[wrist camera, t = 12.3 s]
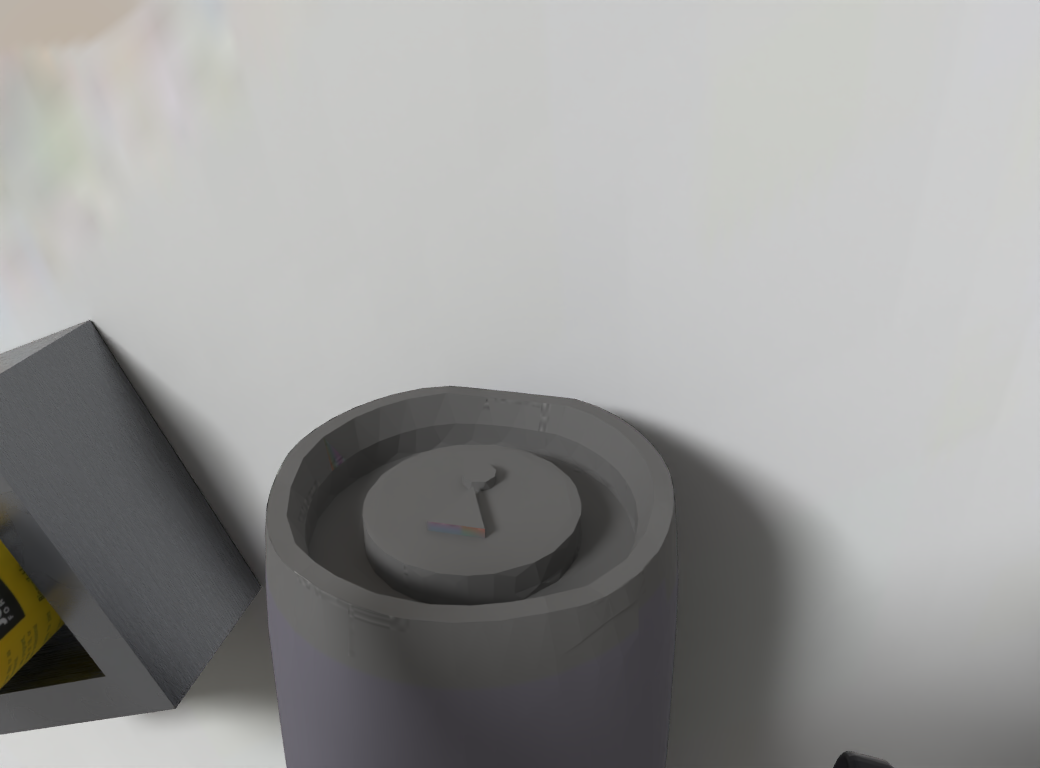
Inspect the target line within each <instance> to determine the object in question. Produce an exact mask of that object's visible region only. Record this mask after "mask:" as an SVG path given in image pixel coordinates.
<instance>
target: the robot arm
mask: <svg viewBox="0 0 1040 768" xmlns="http://www.w3.org/2000/svg"><path fill="white" fill-rule="evenodd" d="M833 768H894V767H893V766H891V765H890V764H889V763H888V762H887V761H885V760H882V759H879V758H875V757H871V756H867V755H863V754H859V753H855V752H852V751H846V752H844V753H842V754H841V755H840V756H839V758H838V759H837V761H836V763H835V765H834V767H833Z"/></svg>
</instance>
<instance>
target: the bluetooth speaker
mask: <svg viewBox="0 0 1040 768" xmlns="http://www.w3.org/2000/svg"><path fill="white" fill-rule="evenodd" d="M265 540H266V566H265V576H266V595H267V613H268V629H269V637H270V644H271V652H272V660H273V668H274V676H275V684H276V692H277V700H278V708H279V715H280V723H281V731H282V738H283V745H284V752H285V759H286V766H287V768H665V766H666V756H667V746H668V734H669V720H670V706H671V692H672V678H673V664H674V650H675V636H676V618H677V596H678V561H677V526H676V510H675V497H674V490H673V483H672V479H671V475H670V472H669V469H668V467H667V465H666V464H665V462H664V460H663V458H662V456H661V455H660V454H659V452H658V451H657V450H656V449H655V447H654V446H653V445H652V444H651V443H650V442H649V441H648V440H647V439H646V438H645V437H644V436H643V435H642V434H641V433H640V432H639V431H637V430H636V429H635V428H634V427H632V426H631V425H630V424H628V423H627V422H625V421H623V420H622V419H620V418H619V417H617V416H616V415H614V414H612V413H610V412H608V411H606V410H604V409H602V408H600V407H597V406H595V405H592V404H589V403H586V402H583V401H580V400H577V399H571V398H563V397H554V396H544V395H534V394H526V393H517V392H507V391H497V390H487V389H478V388H469V387H457V386H444V387H432V388H421V389H416V390H412V391H407V392H403V393H398V394H393V395H390V396H387V397H383V398H380V399H377V400H374V401H371V402H368V403H366V404H363V405H360V406H358V407H355V408H353V409H351V410H349V411H347V412H345V413H342V414H341V415H338V416H336V417H334V418H332V419H331V420H329V421H328V422H326V423H324V424H323V425H321V426H320V427H318V428H316V429H315V430H313V431H312V432H311V433H309V434H308V435H307V436H306V437H304V438H303V439H302V440H301V441H300V442H299V443H298V444H297V445H296V446H295V447H294V448H293V449H292V450H291V451H290V452H289V453H288V455H287V457H286V458H285V460H284V462H283V463H282V465H281V467H280V469H279V470H278V472H277V475H276V478H275V480H274V483H273V485H272V488H271V491H270V495H269V499H268V503H267V510H266V526H265Z"/></svg>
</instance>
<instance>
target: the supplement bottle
mask: <svg viewBox="0 0 1040 768" xmlns="http://www.w3.org/2000/svg"><path fill="white" fill-rule="evenodd" d="M64 624H65V623H64V622H63V620H62V619H61V618H60V616H59V615H58V614H57V612H56V611H55V610H54V609H53V607H52V606H51V605H50V603H49V602H48V601H47V600H46V598H45V597H44V596H43V594H42V593H41V592H40V590H39V589H38V588H37V587H36V585H35V584H34V583H33V581H32V580H31V579H30V578H29V576H28V575H27V574H26V572H25V571H24V570H23V568H22V567H21V566H20V565H19V563H18V562H17V561H16V559H15V558H14V557H13V556H12V554H11V553H10V552H9V550H8V549H7V548H6V546H5V545H4V544H3V543H2V541H1V540H0V689H1V688H2V687H3V686H4V685H5V684H6V683H7V682H8V681H9V680H10V679H11V678H12V677H13V676H14V675H15V673H16V672H17V671H18V670H19V669H20V668H21V667H22V666H23V665H24V664H26V663H27V662H28V661H29V660H30V659H31V657H32V656H33V655H34V654H35V653H36V652H37V651H38V650H39V649H40V648H41V647H42V646H43V645H44V644H45V643H46V642H47V641H48V640H49V639H50V638H51V637H52V636H53V635H54V634H55V633H56V632H57V631H58V630H59V629H60V628H61V627H62V626H63V625H64Z"/></svg>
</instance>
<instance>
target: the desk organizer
mask: <svg viewBox="0 0 1040 768" xmlns="http://www.w3.org/2000/svg"><path fill="white" fill-rule="evenodd" d="M0 540H1V541H2V543H3V544H4V545H5V546H6V548H7V549H8V550H9V552H10V553H11V554H12V556H13V557H14V558H15V559H16V561H17V562H18V563H19V565H20V566H21V567H22V568H23V570H24V571H25V572H26V574H27V575H28V576H29V578H30V579H31V580H32V581H33V583H34V584H35V585H36V587H37V588H38V589H39V590H40V592H41V593H42V594H43V596H44V597H45V598H46V600H47V601H48V602H49V603H50V605H51V606H52V607H53V609H54V610H55V611H56V612H57V614H58V615H59V616H60V618H61V619H62V620H63V622H64V623H65V624H64V625H63V626H62V627H61V628H60V629H59V630H58V631H57V632H56V633H55V634H54V635H53V636H52V637H51V638H50V639H49V640H48V641H47V642H46V643H45V644H44V645H43V646H42V647H41V648H40V649H39V650H38V651H37V652H36V653H35V654H34V655H33V656H32V657H31V659H30V660H29V661H28V662H27V663H26V664H24V665H23V666H22V667H21V668H20V669H19V670H18V671H17V672H16V673H15V675H14V676H13V677H12V678H11V679H10V680H9V681H8V682H7V683H6V684H5V685H4V686H3V687H2V688H1V689H0V735H1V734H7V733H14V732H21V731H28V730H34V729H41V728H48V727H55V726H61V725H68V724H75V723H82V722H89V721H95V720H102V719H109V718H116V717H122V716H129V715H136V714H143V713H149V712H156V711H163V710H170V709H176V707H177V706H178V704H179V703H180V702H181V700H182V699H183V697H184V696H185V695H186V693H187V692H188V690H189V689H190V687H191V686H192V685H193V683H194V682H195V680H196V679H197V678H198V676H199V675H200V673H201V672H202V670H203V669H204V668H205V666H206V665H207V663H208V662H209V661H210V659H211V658H212V656H213V655H214V654H215V652H216V651H217V649H218V648H219V646H220V645H221V644H222V642H223V641H224V639H225V638H226V637H227V635H228V634H229V632H230V631H231V629H232V628H233V627H234V625H235V624H236V622H237V621H238V620H239V618H240V617H241V615H242V614H243V613H244V611H245V610H246V608H247V607H248V605H249V604H250V603H251V601H252V600H253V598H254V597H255V596H256V594H257V593H258V591H259V590H260V589H261V586H260V584H259V583H258V581H257V580H256V578H255V576H254V575H253V573H252V572H251V570H250V569H249V567H248V566H247V564H246V562H245V561H244V559H243V558H242V556H241V555H240V553H239V552H238V550H237V548H236V547H235V545H234V544H233V542H232V541H231V539H230V538H229V536H228V534H227V533H226V531H225V530H224V528H223V527H222V525H221V523H220V522H219V520H218V519H217V517H216V516H215V514H214V513H213V511H212V509H211V508H210V506H209V505H208V503H207V502H206V500H205V499H204V497H203V495H202V494H201V492H200V491H199V489H198V488H197V486H196V485H195V483H194V481H193V480H192V478H191V477H190V475H189V474H188V472H187V471H186V469H185V467H184V466H183V464H182V463H181V461H180V460H179V458H178V457H177V455H176V453H175V452H174V450H173V449H172V447H171V446H170V444H169V442H168V441H167V439H166V438H165V436H164V435H163V433H162V432H161V430H160V428H159V427H158V425H157V424H156V422H155V421H154V419H153V418H152V416H151V414H150V413H149V411H148V410H147V408H146V407H145V405H144V404H143V402H142V400H141V399H140V397H139V396H138V394H137V393H136V391H135V390H134V388H133V386H132V385H131V383H130V382H129V380H128V379H127V377H126V376H125V374H124V372H123V371H122V369H121V368H120V366H119V365H118V363H117V361H116V360H115V358H114V357H113V355H112V354H111V352H110V351H109V349H108V347H107V346H106V344H105V343H104V341H103V340H102V338H101V337H100V335H99V333H98V332H97V330H96V329H95V327H94V326H93V324H92V323H91V321H90V320H89V321H86V322H83V323H81V324H78V325H75V326H73V327H70V328H68V329H65V330H62V331H60V332H57V333H55V334H52V335H49V336H47V337H44V338H41V339H39V340H36V341H34V342H31V343H28V344H26V345H23V346H20V347H18V348H15V349H13V350H10V351H7V352H5V353H2V354H0Z"/></svg>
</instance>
